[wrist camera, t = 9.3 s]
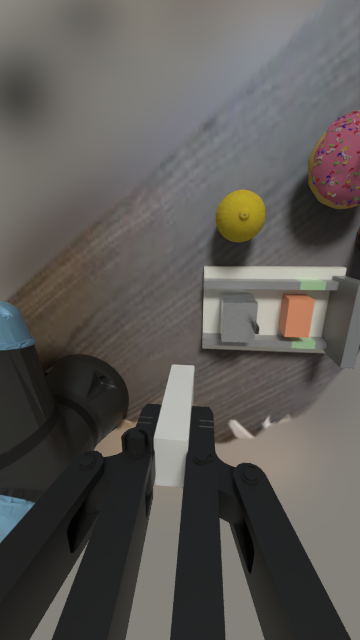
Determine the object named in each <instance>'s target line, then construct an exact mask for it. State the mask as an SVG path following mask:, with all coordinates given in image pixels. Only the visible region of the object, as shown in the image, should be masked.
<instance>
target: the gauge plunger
mask: <svg viewBox="0 0 360 640" xmlns="http://www.w3.org/2000/svg"><path fill="white" fill-rule="evenodd" d="M257 311H258V302H257V301H256V300H255V298H254V297H253V295H252V294H227V293H221V314H220V333H221V342H244V343H254V342H255V334H259V326H258V324H257V322H256V321H257Z"/></svg>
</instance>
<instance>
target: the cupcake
mask: <svg viewBox="0 0 360 640" xmlns="http://www.w3.org/2000/svg"><path fill="white" fill-rule="evenodd" d="M308 184H309V187H310V188H311V190H312V192H313V193H314V195H315V197H316V198H317V200H318V201H319V202H320V203H322V204H325V205H327V206H329V207H332V208H335V209H347V208H352V207H355V206H358V205H360V110H357V111H356V112H355V111H354V112H352V113H348V114H343V115H342V116H341V117H340V118H338V119H337V120H335V121H334V122H333V123H332V124H331V125H330V126H329V128H328V130H327V131H326V132H325V133H324V134H323V135H322V137H321V138H320V139H319V140H318V142H317V143H316V145H315V147H314V149H313V151H312V153H311V155H310V158H309V162H308Z"/></svg>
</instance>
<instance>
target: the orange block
mask: <svg viewBox="0 0 360 640" xmlns="http://www.w3.org/2000/svg"><path fill="white" fill-rule="evenodd" d="M314 303H315V299H313V298H311V297H310V296H308V295H306V294H283V296H282V304H281V312H280V320H279V328H278V329H279V330H280V332H281V333H282V334H283V336H284V337H302V338H309V333H310V327H311V321H312V315H313V309H314Z"/></svg>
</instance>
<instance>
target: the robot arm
mask: <svg viewBox="0 0 360 640" xmlns="http://www.w3.org/2000/svg"><path fill="white" fill-rule="evenodd" d="M34 344H35V339H34V337H32V336H31V334H30V332H29V330H28V327H27V325H26V323H25V321H24V318H23V316H22V314H21V312H20V311H19V310H18V309H17V308H16V307H15V306H13V305H12V304H9V303H7V302H2V301H0V640H30V638H31V636H32V634H33V633H34V631H35V630H36V628H37V626H38V624H39V623H40V621H41V619H42V618H43V616H44V614H45V613H46V611H47V609H48V608H49V606H50V604H51V603H52V601H53V599H54V598H55V596H56V594H57V593H58V591H59V589H60V588H61V586H62V584H63V583H64V581H65V579H66V578H67V575H68V574H69V573H70V571H71V569H72V568H73V566H74V564H75V563H76V561H77V559H78V558H79V556H80V554H81V553H82V551H83V549H84V548H85V546H86V544H87V543H88V545H87V547H86V550H85V553H84V555H83V558H82V561H81V563H80V566H79V569H78V571H77V574H76V576H75V579H74V582H73V584H72V587H71V590H70V593H69V595H68V598H67V601H66V603H65V606H64V608H63V611H62V614H61V616H60V619H59V622H58V625H57V627H56V630H55V632H54V635H53V638H52V640H125V638H126V633H127V628H128V623H129V618H130V612H131V608H132V602H133V597H134V592H135V587H136V582H137V577H138V572H139V566H140V562H141V556H142V551H143V546H144V541H145V536H146V530H147V525H148V520H149V515H150V510H151V505H152V500H153V485H154V480H155V485H161V486H172V487H182V488H183V499H182V510H181V522H180V534H179V545H178V556H177V568H176V580H175V591H174V602H173V614H172V625H171V637H170V640H225V621H224V600H223V582H222V581H223V580H222V561H221V540H220V520H219V518H221V519H223V520H225V521H227V522H229V524H230V527H231V531H232V534H233V537H234V540H235V544H236V547H237V550H238V553H239V557H240V560H241V563H242V567H243V570H244V573H245V576H246V580H247V583H248V586H249V590H250V593H251V596H252V599H253V603H254V606H255V609H256V613H257V615H258V619H259V622H260V626H261V629H262V632H263V636H264V639H265V640H351V639H350V637H349V635H348V633H347V631H346V629H345V627H344V625H343V623H342V622H341V619H340V617H339V615H338V614H337V612H336V610H335V608H334V606H333V604H332V602H331V600H330V598H329V596H328V594H327V592H326V590H325V588H324V586H323V585H322V583H321V581H320V579H319V577H318V575H317V573H316V571H315V569H314V567H313V565H312V563H311V561H310V559H309V558H308V556H307V554H306V552H305V550H304V548H303V546H302V544H301V542H300V540H299V538H298V536H297V535H296V532H295V531H294V529H293V527H292V525H291V523H290V521H289V519H288V517H287V515H286V513H285V511H284V510H283V508H282V505H281V504H280V502H279V500H278V498H277V496H276V494H275V492H274V490H273V488H272V486H271V484H270V482H269V480H268V478H267V477H266V475H265V473H264V472H263V471H262V470H261V469H260V468H259V467H258V466H256V465H253V464H251V463H242V464H239V465H238V466H237V467H233V466H230V465H228V464H226V463H224V462H223V461H221V460H220V459H219V458H218V456H217V455H216V452H215V441H214V420H213V413H212V411H211V409H210V408H209V407H198V406H193V391H194V366H191V365H172V367H171V371H170V375H169V379H168V383H167V387H166V391H165V395H164V399H163V403H162V405H159V404H147V405H146V406H145V407H144V408H143V409H142V411H141V414H140V417H139V419H138V423H137V425H136V427H134V428H131V429H129V430H127V431H126V432H124V434H123V435H122V437H121V439H122V450H123V452H121V453H119V454H117V455H113V456H109V457H103V456H102V454H101V453H99V452H98V451H94V449H95V447H96V445H97V444H98V443H99V442H100V441H101V440H102V439H104V438H105V437H106V435H108V434H109V433H110V432H111V431H113V430H114V429H115V428H116V427H117V426H118V425H119V423H120V422H121V420H122V418H123V416H124V414H125V412H126V410H127V407H128V391H127V388H126V385H125V383H124V381H123V379H122V378H121V376H120V375H119V374H118V372H117V371H116V370H115V369H114V368H112V367H111V366H110V365H109V364H107V363H106V362H104V361H102V360H100V359H98V358H95V357H92V356H88V355H69V356H66V357H63V358H61V359H59V360H57V361H56V362H55V363H54V364H52V365H51V366H50V367H49V368H48V369H47V370H46V371H45V372H44V370H43V367H42V365H41V362H40V360H39V357H38V354H37V351H36V348H35V346H34ZM88 541H89V542H88Z"/></svg>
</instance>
